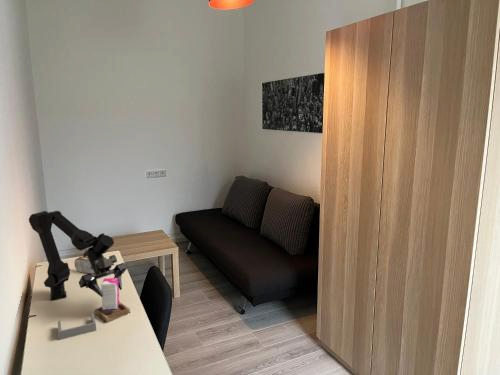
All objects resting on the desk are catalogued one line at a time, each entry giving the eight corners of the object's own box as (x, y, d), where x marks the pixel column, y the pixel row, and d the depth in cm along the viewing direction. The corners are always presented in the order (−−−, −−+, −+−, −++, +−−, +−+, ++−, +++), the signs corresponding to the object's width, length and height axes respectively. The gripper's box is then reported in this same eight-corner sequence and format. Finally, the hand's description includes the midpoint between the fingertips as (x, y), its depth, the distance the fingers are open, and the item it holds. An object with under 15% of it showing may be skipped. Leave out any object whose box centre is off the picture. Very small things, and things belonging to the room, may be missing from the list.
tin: (101, 273, 193) (100, 258, 191) (97, 276, 190) (96, 260, 188) (78, 270, 197) (77, 255, 196) (74, 272, 195) (72, 257, 193)
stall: (58, 328, 142) (57, 320, 142) (94, 319, 148) (93, 312, 147) (59, 339, 135) (58, 332, 134) (96, 330, 140) (95, 323, 140)
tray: (95, 314, 152) (94, 309, 152) (117, 305, 159) (117, 300, 159) (106, 322, 145) (106, 318, 145) (130, 312, 153) (129, 308, 152)
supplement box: (117, 309, 150) (115, 283, 147) (102, 311, 149) (99, 284, 147) (120, 303, 155) (118, 277, 153) (105, 304, 154) (103, 278, 152)
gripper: (79, 256, 143) (94, 292, 138) (123, 244, 157) (139, 276, 152) (72, 270, 150) (87, 304, 145) (115, 257, 164) (130, 288, 158)
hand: (111, 292), depth 150 cm, fingers closed on supplement box, 8 cm apart
